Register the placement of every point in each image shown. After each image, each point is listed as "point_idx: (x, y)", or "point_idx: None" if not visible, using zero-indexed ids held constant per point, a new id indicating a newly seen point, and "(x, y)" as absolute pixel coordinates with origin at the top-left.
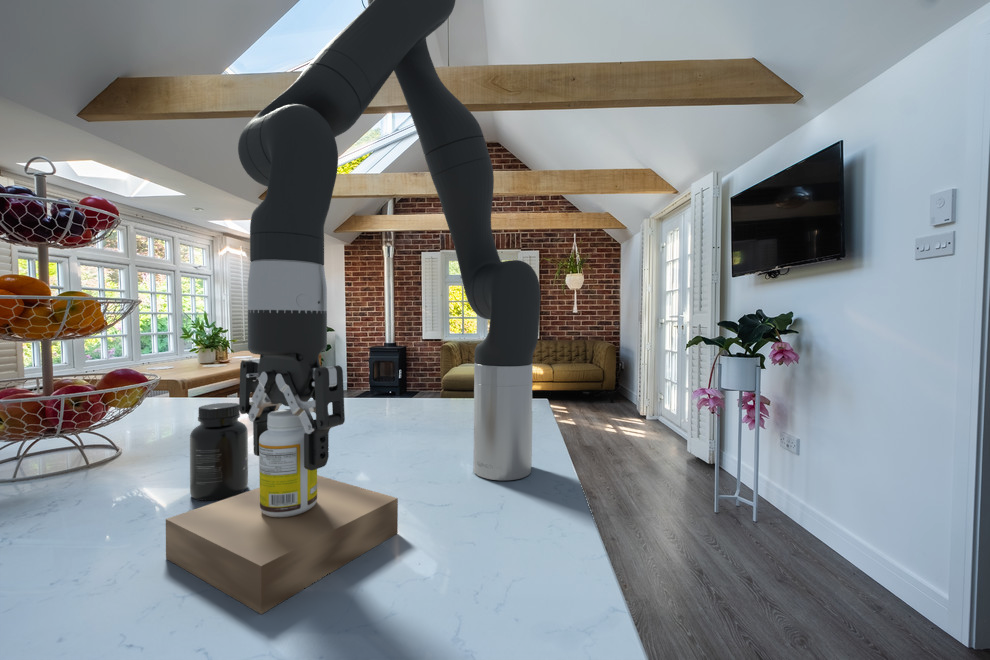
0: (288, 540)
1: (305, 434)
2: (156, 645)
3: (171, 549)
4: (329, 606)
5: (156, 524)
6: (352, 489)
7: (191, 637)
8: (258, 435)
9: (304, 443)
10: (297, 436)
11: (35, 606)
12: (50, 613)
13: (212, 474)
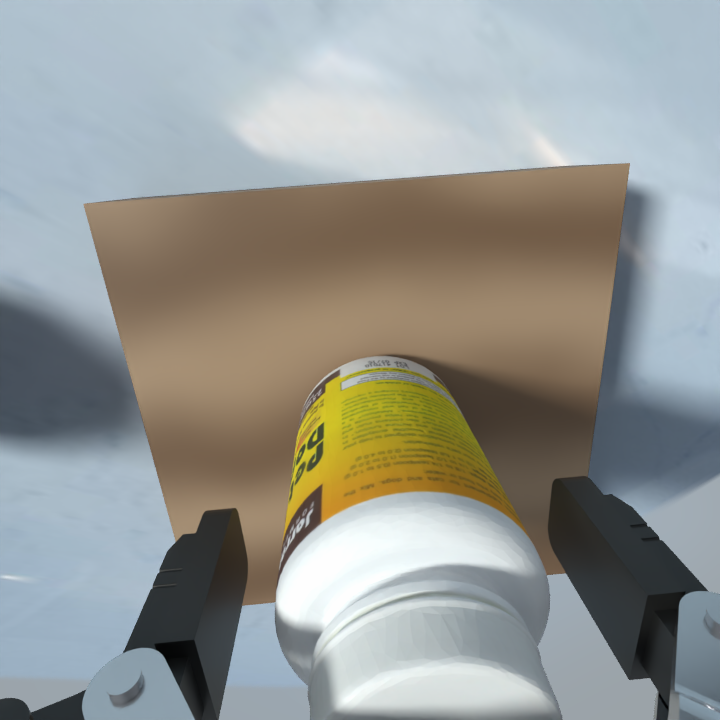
0: (539, 505)
1: (640, 676)
2: None
3: None
4: (620, 440)
5: (4, 508)
6: (420, 210)
7: None
8: (229, 649)
9: (602, 631)
10: (537, 644)
11: (229, 666)
12: (268, 658)
13: None
